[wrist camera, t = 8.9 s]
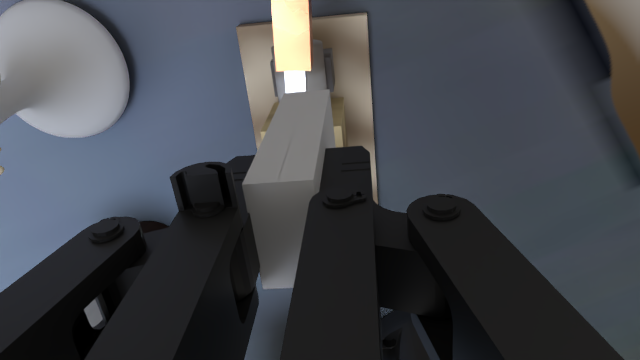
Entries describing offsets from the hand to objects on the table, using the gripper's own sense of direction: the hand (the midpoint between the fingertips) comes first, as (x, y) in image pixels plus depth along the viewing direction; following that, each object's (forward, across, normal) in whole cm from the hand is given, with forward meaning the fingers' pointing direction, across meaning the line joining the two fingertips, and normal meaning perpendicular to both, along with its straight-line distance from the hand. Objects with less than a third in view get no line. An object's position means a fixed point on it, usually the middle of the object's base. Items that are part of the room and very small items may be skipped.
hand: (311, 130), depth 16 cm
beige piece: (+25, +3, +9) cm, 26 cm away
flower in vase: (+25, +22, +1) cm, 33 cm away
